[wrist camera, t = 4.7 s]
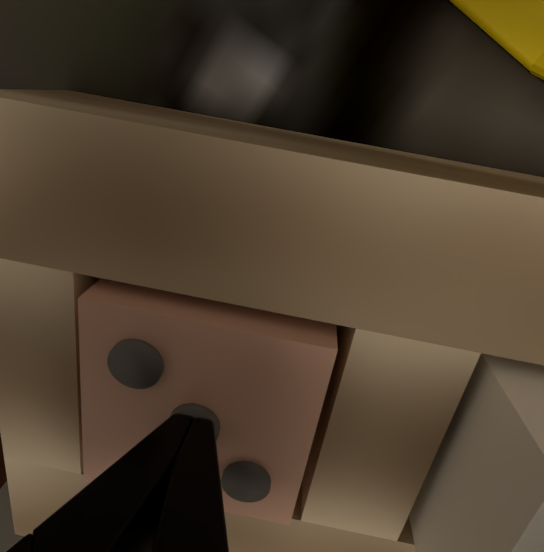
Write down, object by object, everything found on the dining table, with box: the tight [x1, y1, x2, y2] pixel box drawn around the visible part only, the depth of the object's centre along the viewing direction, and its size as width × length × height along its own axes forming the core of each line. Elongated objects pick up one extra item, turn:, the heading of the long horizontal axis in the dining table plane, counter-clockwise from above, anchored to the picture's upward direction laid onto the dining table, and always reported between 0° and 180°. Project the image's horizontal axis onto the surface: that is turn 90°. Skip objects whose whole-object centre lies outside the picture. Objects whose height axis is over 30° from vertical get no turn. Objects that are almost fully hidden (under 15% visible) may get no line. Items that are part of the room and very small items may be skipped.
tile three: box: [78, 278, 338, 525], centre depth 10 cm, size 5×5×4 cm
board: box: [0, 89, 544, 552], centre depth 11 cm, size 12×26×4 cm, turn 81°
